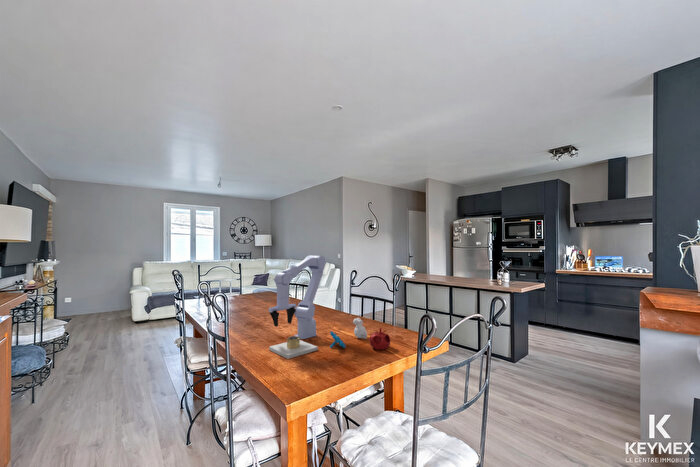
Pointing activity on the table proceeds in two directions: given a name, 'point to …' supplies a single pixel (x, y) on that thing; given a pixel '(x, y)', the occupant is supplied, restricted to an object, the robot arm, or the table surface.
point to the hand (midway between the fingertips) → (282, 324)
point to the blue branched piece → (336, 340)
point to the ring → (293, 342)
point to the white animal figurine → (359, 329)
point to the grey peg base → (291, 353)
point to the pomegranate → (379, 340)
